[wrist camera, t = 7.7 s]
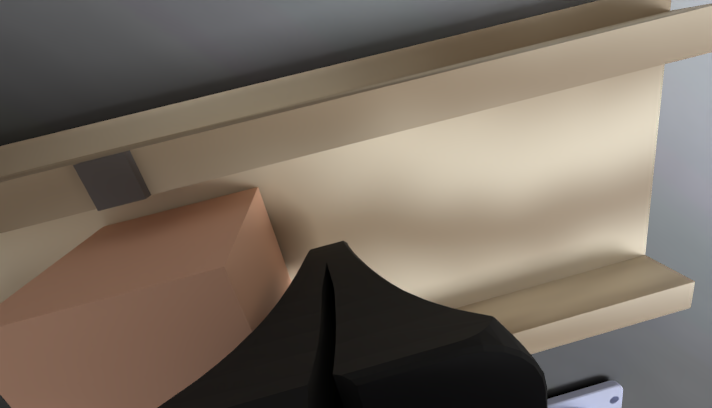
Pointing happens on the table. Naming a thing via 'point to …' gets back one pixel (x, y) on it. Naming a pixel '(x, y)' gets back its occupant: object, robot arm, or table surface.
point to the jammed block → (142, 307)
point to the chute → (411, 168)
